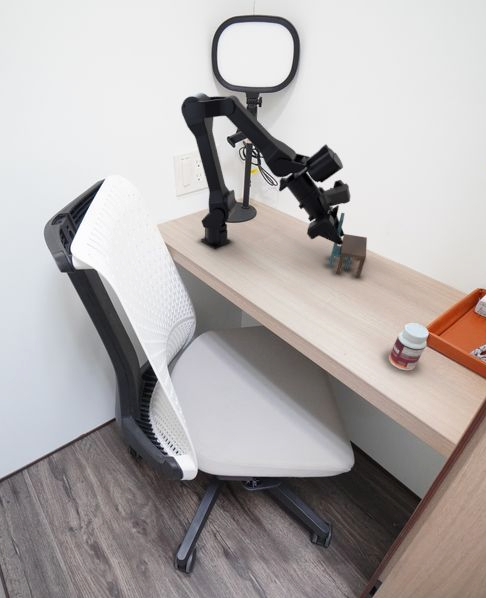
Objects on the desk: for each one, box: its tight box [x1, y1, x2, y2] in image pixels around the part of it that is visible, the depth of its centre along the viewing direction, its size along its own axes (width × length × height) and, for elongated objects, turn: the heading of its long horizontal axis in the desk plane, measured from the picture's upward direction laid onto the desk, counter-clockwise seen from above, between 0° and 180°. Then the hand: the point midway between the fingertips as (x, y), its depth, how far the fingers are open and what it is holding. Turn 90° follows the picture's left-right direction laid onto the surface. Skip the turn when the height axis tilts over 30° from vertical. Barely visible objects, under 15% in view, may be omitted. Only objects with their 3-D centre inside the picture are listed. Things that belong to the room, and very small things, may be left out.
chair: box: [328, 212, 352, 271], centre depth 95 cm, size 5×5×14 cm
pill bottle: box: [388, 322, 430, 371], centre depth 67 cm, size 5×5×8 cm
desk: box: [335, 233, 368, 279], centre depth 96 cm, size 6×11×6 cm, turn 160°
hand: (342, 239), depth 95 cm, fingers closed on chair, 4 cm apart
